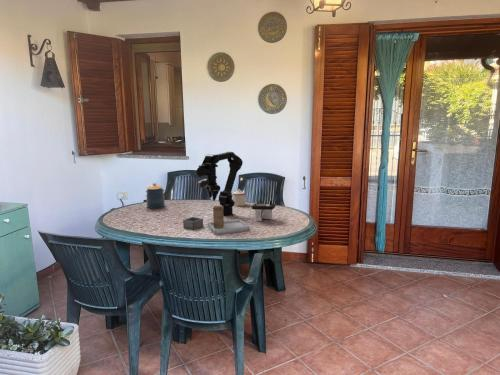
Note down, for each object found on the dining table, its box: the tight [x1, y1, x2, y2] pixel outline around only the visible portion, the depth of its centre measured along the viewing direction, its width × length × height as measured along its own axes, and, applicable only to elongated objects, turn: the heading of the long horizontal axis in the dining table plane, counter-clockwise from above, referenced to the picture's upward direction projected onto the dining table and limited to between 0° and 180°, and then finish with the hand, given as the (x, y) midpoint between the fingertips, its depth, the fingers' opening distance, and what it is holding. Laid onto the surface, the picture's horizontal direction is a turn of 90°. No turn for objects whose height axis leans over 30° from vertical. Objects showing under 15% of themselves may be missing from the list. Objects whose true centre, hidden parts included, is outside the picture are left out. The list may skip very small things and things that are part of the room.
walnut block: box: [212, 205, 225, 228], centre depth 222 cm, size 5×5×12 cm
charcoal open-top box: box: [182, 216, 204, 230], centre depth 227 cm, size 8×8×4 cm
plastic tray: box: [207, 218, 250, 236], centre depth 222 cm, size 20×17×2 cm
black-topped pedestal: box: [251, 199, 277, 222], centre depth 239 cm, size 28×26×13 cm
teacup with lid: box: [232, 188, 246, 207], centre depth 282 cm, size 12×9×12 cm
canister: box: [145, 182, 166, 209], centre depth 280 cm, size 13×13×18 cm
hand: (212, 199), depth 242 cm, fingers open, 9 cm apart
